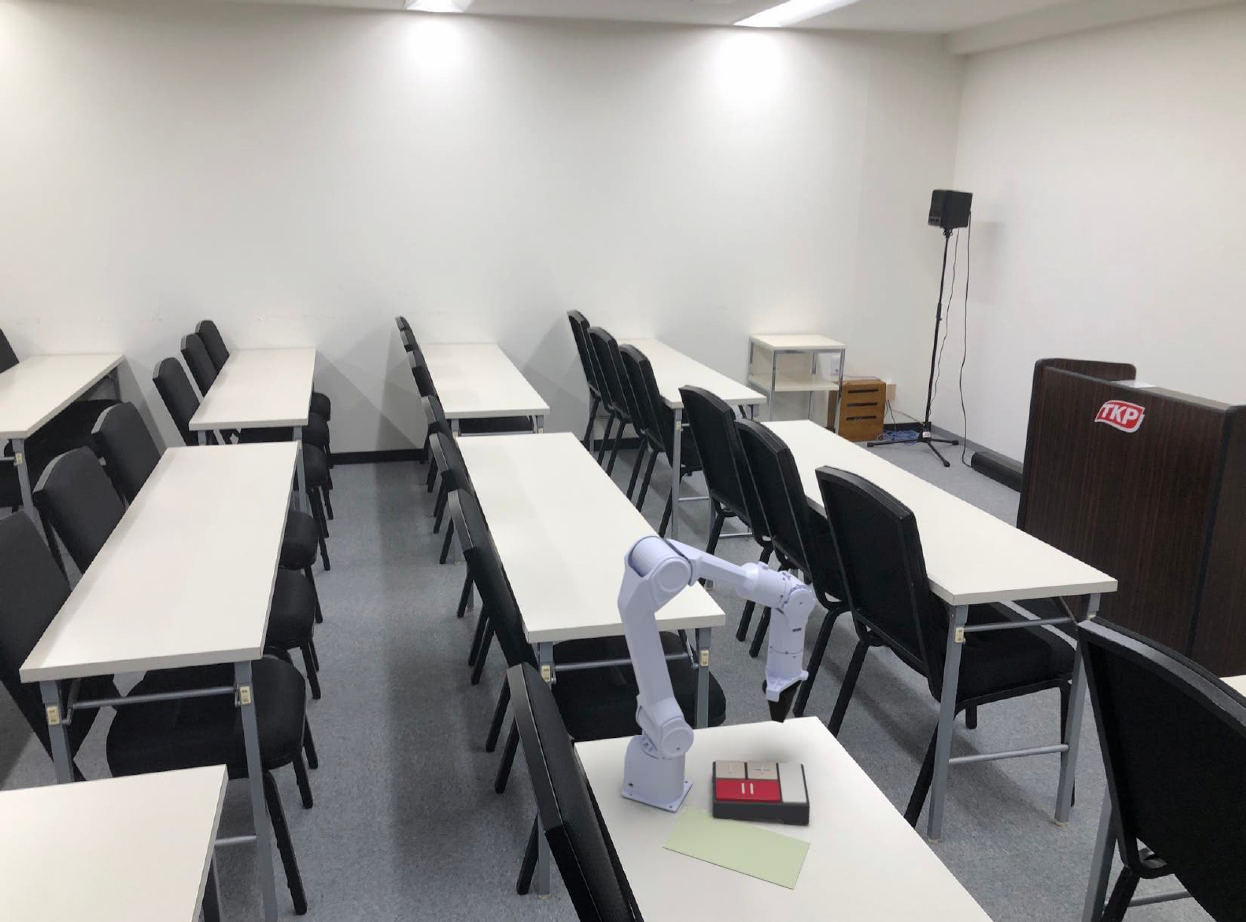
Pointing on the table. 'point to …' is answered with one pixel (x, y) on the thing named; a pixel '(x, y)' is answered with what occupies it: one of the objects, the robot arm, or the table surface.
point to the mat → (738, 846)
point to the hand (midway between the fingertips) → (779, 717)
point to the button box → (760, 791)
